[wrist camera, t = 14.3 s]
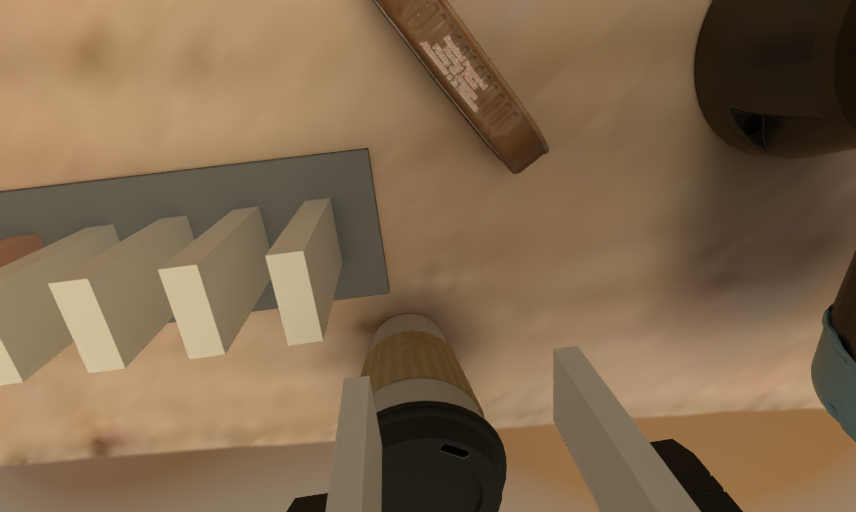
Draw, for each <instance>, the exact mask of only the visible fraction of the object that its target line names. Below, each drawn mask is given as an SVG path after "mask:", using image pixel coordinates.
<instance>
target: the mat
mask: <svg viewBox="0 0 856 512" xmlns="http://www.w3.org/2000/svg"><path fill="white" fill-rule="evenodd" d="M324 198H330V199H331V205H332V210H333V215H334V220H335V226H336V231H337V236H338V242H339V247H340V252H341V258H342V267H341V271H340V275H339V279H338V283H337V287H336V291H335V295H334V299H333V301H334V300H342V299H349V298H357V297H364V296H372V295H379V294H387V293H389V285H388V279H387V272H386V266H385V259H384V252H383V246H382V239H381V232H380V226H379V219H378V212H377V206H376V199H375V193H374V186H373V179H372V173H371V166H370V159H369V153H368V148H365V149H356V150H348V151H339V152H331V153H322V154H314V155H306V156H297V157H289V158H280V159H272V160H263V161H255V162H246V163H238V164H229V165H221V166H212V167H204V168H195V169H187V170H178V171H170V172H161V173H153V174H145V175H136V176H128V177H119V178H111V179H102V180H94V181H85V182H77V183H68V184H60V185H51V186H43V187H34V188H26V189H17V190H9V191H0V241H2V240H4V239H7V238H9V237H14V236H22V235H30V234H39V236H40V239H41V241H42V243H43V245H44V247H46V246H48V245H50V244H52V243H55V242H57V241H59V240H61V239H63V238H65V237H68V236H70V235H72V234H74V233H76V232H78V231H80V230H83V229H85V228H88V227H96V226H104V225H112V224H113V225H114V228H115V230H116V233H117V235H118V238H119V241H120V242H121V241H122V240H124V239H126V238H128V237H129V236H131V235H133V234H135V233H136V232H138V231H140V230H141V229H143V228H145V227H147V226H148V225H150V224H152V223H154V222H155V221H157V220H159V219H161V218H169V217H177V216H185V215H187V218H188V221H189V224H190V227H191V231H192V234H193V237H194V240H196V239H197V238H198V237H199V236H201V235H202V234H203V233H204V232H206V231H207V230H208V229H209V228H211V227H212V226H213V225H214V224H216V223H217V222H218V221H219V220H221V219H222V218H223V217H224V216H226V215H227V214H228V213H230V212H231V211H232V210H234V209H242V208H251V207H259V208H260V212H261V216H262V220H263V224H264V228H265V232H266V236H267V240H268V244H269V248H271V247H272V246H273V244H274V243H275V241H276V240H277V239H278V237H279V236H280V234H281V233H282V232H283V230H284V229H285V228H286V226H287V225H288V223H289V222H290V221H291V219H292V218H293V216H294V215H295V214H296V212H297V211H298V209H299V208H300V207H301V205H302V204H303V203H304V201H308V200H316V199H324ZM274 308H278V304H277V300H276V296H275V292H274V288H273V284H272V280H271V279H270V281H269V283H268V284H267V286H266V288H265V289H264V291H263V293H262V294H261V296H260V298H259V299H258V301H257V303H256V304H255V306H254V308H253V309H252V311H260V310H267V309H274ZM252 311H251V312H252ZM170 322H176V320H175V317H174V316H173V318H172V319H171V320H170V321H169V322H168V323H170Z"/></svg>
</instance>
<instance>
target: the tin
mask: <svg viewBox="0 0 856 512" xmlns="http://www.w3.org/2000/svg"><path fill="white" fill-rule="evenodd" d="M373 2H374V3H375V4H376V5H377V7H378V8H379V9H380V11H381V12H382V13H383V15H384V16H385V17H386V19H387V20H388V21H389V22H390V24H391V25H392V26H393V27H394V29H395V30H396V31H397V33H398V34H399V35H400V36H401V38H402V39H403V40H404V42H405V43H406V44H407V45H408V47H409V48H410V49H411V51H412V52H413V53H414V55H415V56H416V57H417V58H418V60H419V61H420V62H421V64H422V65H423V66H424V68H425V69H426V70H427V71H428V73H429V74H430V75H431V77H432V78H433V79H434V80H435V82H436V83H437V84H438V86H439V87H440V88H441V89H442V91H443V92H444V93H445V94H446V96H447V97H448V98H449V99H450V100H451V102H452V103H453V104H454V105H455V107H456V108H457V109H458V110H459V112H460V113H461V114H462V115H463V116H464V118H465V119H466V120H467V121H468V122H469V124H470V125H471V126H472V127H473V129H474V130H475V131H476V132H477V133H478V135H479V136H480V137H481V138H482V140H483V141H484V142H485V143H486V144H487V146H488V147H489V148H490V149H491V150H492V152H493V153H494V154H495V155H496V156H497V157H498V158H499V159H500V160H501V161H502V162H503V163H504V164H505V165H506V166H507V167H508V169H509V170H510V171H511V172H512V173H514V174H518V173H520V172H521V171H523V170H524V169H525V168H527V167H528V166H529V165H530V164H532V163H533V162H534V161H535V160H537V159H538V158H539V157H540V156H542V155H543V154H546V153H548V152H549V148H548V144H547V142H546V140H545V139H544V137H543V135H542V133H541V132H540V130H539V128H538V127H537V125H536V124H535V122H534V121H533V119H532V118H531V116H530V114H529V113H528V112H527V111H526V109H525V108H524V106H523V105H522V103H521V102H520V101H519V99H518V98H517V97H516V95H515V94H514V92H513V91H512V90H511V88H510V87H509V85H508V84H507V83H506V82H505V80H504V79H503V77H502V76H501V74H500V73H499V72H498V70H497V69H496V67H495V66H494V65H493V64H492V62H491V61H490V59H489V58H488V57H487V55H486V54H485V53H484V51H483V50H482V48H481V47H480V46H479V44H478V43H477V42H476V40H475V39H474V37H473V36H472V35H471V33H470V32H469V31H468V29H467V28H466V27H465V25H464V24H463V22H462V21H461V19H460V18H459V17H458V15H457V14H456V13H455V11H454V10H453V9H452V7H451V6H450V4H449V3H448V1H447V0H373Z"/></svg>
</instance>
